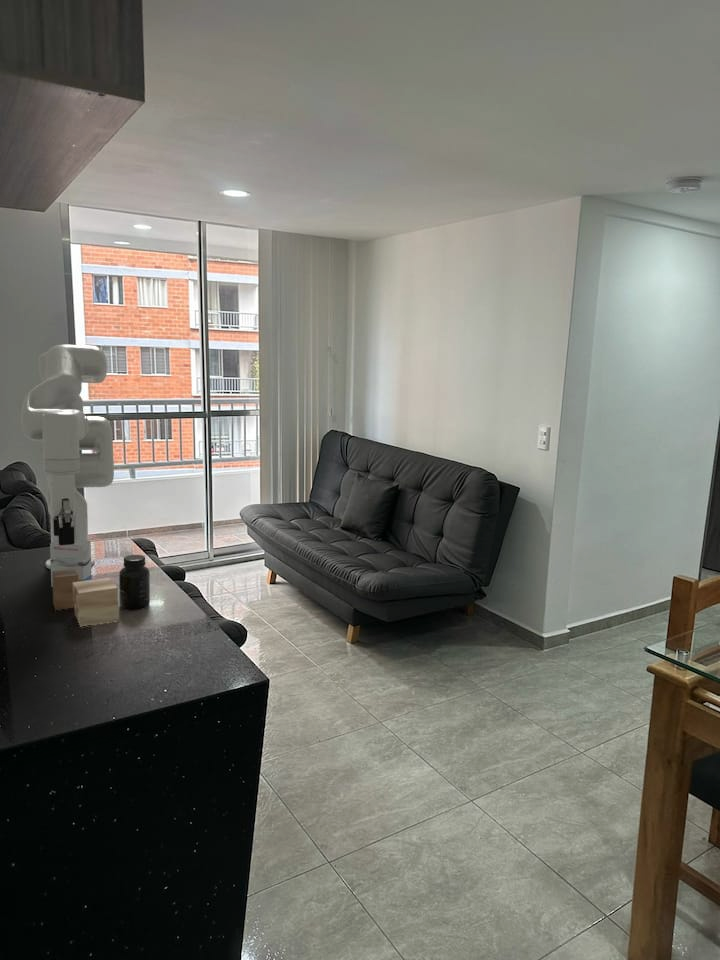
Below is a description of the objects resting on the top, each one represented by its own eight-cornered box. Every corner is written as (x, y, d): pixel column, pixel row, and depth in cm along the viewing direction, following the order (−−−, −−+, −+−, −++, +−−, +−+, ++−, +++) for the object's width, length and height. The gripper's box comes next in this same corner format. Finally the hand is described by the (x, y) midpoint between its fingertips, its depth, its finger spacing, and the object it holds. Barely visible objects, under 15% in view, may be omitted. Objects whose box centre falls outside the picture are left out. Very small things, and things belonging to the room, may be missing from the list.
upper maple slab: (72, 599, 147) (72, 582, 147) (109, 594, 152) (109, 577, 151) (79, 610, 141) (78, 593, 140) (117, 605, 145) (117, 587, 144)
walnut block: (53, 603, 154) (52, 571, 153) (76, 600, 157) (75, 568, 155) (55, 610, 150) (54, 577, 149) (79, 607, 153) (78, 574, 151)
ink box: (92, 584, 169) (91, 540, 167) (82, 590, 164) (81, 545, 162) (61, 581, 170) (59, 538, 168) (50, 588, 165) (49, 542, 163)
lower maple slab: (74, 616, 148) (74, 599, 147) (111, 610, 152) (111, 594, 152) (80, 628, 141) (79, 611, 141) (118, 622, 145) (118, 605, 145)
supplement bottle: (113, 608, 153) (112, 559, 151) (130, 599, 159) (130, 551, 157) (139, 612, 151) (138, 562, 149) (155, 603, 158) (155, 555, 156)
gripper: (39, 462, 153) (42, 533, 156) (47, 471, 139) (50, 550, 141) (74, 461, 157) (76, 530, 160) (85, 470, 142) (87, 546, 145)
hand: (63, 539), depth 150 cm, fingers open, 9 cm apart
